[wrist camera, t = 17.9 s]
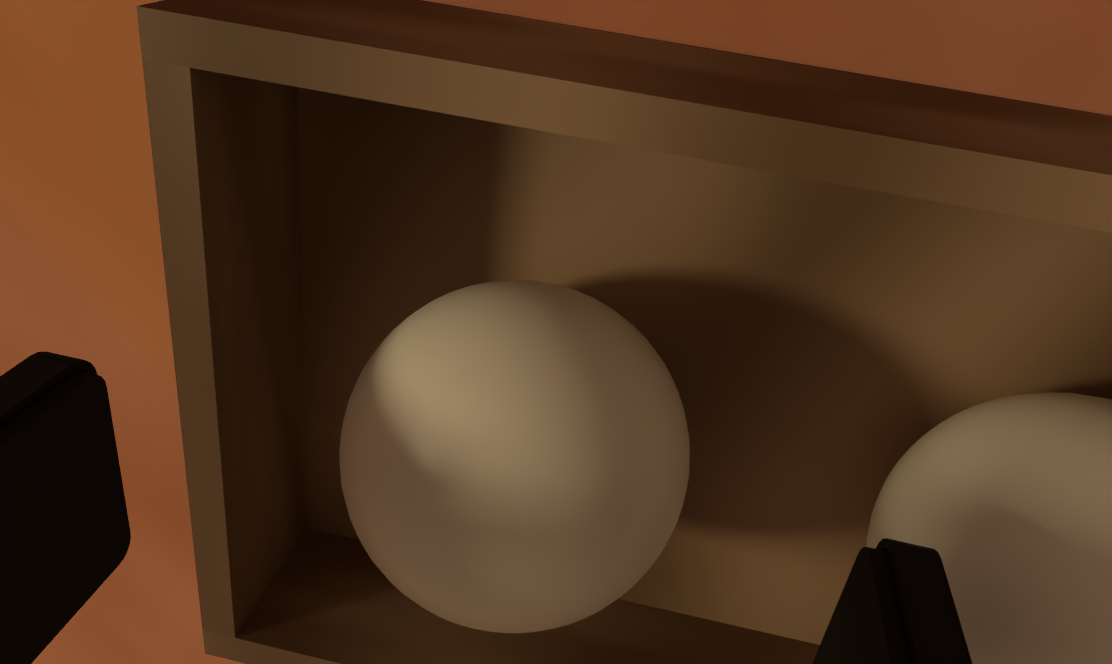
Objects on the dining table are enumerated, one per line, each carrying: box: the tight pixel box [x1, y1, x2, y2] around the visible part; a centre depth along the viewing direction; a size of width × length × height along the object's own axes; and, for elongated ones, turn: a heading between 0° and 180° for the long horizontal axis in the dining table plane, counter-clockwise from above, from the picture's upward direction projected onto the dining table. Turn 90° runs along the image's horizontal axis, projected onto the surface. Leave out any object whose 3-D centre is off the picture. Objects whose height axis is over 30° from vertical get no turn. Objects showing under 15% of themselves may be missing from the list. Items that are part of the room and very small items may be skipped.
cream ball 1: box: [339, 280, 690, 633], centre depth 12 cm, size 5×5×5 cm
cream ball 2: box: [866, 392, 1112, 664], centre depth 12 cm, size 5×5×5 cm
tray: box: [137, 0, 1112, 664], centre depth 13 cm, size 16×11×4 cm
